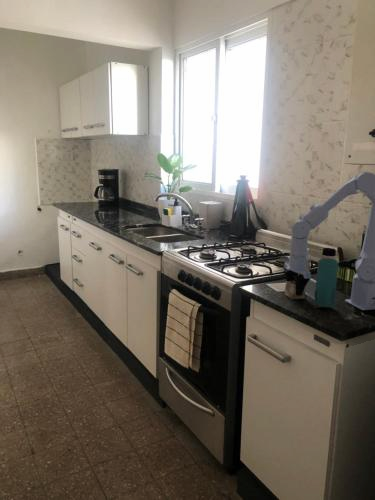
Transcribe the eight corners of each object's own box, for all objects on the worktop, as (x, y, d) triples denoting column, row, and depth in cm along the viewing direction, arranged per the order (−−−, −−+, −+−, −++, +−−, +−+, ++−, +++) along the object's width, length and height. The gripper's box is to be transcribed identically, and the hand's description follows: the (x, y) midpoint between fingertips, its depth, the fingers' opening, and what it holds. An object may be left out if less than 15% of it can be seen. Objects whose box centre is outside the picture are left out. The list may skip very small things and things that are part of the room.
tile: (299, 290, 155) (299, 289, 155) (277, 292, 152) (277, 290, 152) (286, 283, 163) (287, 282, 163) (265, 284, 161) (266, 283, 161)
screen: (321, 300, 145) (323, 283, 144) (314, 300, 144) (316, 283, 143) (309, 293, 153) (310, 277, 151) (302, 293, 152) (304, 277, 150)
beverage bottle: (338, 310, 135) (345, 250, 131) (320, 312, 133) (326, 251, 129) (326, 304, 141) (332, 246, 137) (309, 305, 139) (314, 246, 135)
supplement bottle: (288, 279, 170) (291, 248, 167) (297, 276, 174) (300, 246, 172) (302, 282, 165) (305, 251, 162) (312, 280, 170) (315, 248, 167)
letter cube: (304, 298, 147) (306, 283, 145) (291, 299, 145) (293, 284, 144) (297, 293, 151) (298, 279, 150) (284, 294, 150) (285, 280, 149)
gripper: (277, 250, 151) (275, 287, 154) (298, 260, 137) (295, 299, 140) (295, 250, 153) (292, 286, 156) (317, 259, 139) (313, 298, 142)
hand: (294, 292), depth 148 cm, fingers closed on letter cube, 5 cm apart
